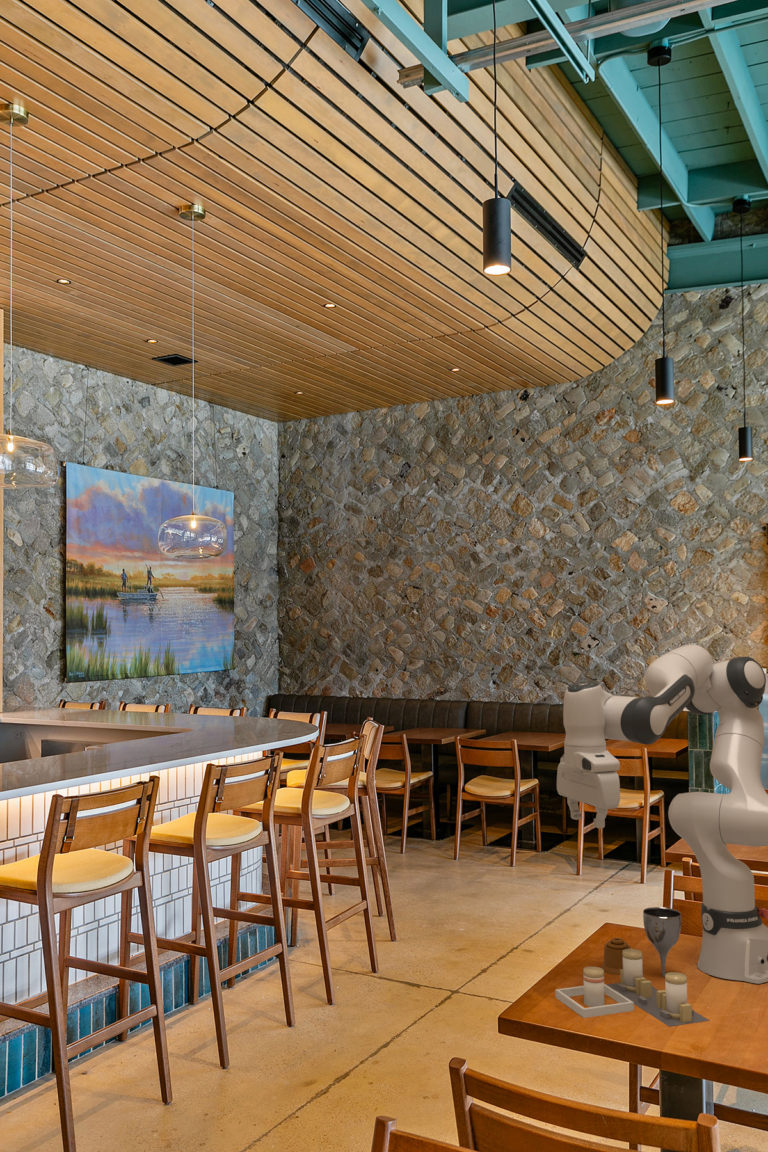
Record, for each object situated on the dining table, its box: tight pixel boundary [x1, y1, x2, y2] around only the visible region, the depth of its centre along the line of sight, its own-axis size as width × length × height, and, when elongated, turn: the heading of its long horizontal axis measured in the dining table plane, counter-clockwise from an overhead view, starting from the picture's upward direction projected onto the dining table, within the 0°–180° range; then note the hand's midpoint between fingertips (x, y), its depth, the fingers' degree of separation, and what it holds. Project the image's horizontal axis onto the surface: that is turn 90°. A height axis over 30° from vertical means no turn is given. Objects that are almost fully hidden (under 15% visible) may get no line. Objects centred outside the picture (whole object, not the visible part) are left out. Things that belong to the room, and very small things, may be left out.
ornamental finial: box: [600, 937, 632, 976], centre depth 207 cm, size 8×8×8 cm
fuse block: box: [605, 969, 711, 1028], centre depth 188 cm, size 9×23×4 cm, turn 18°
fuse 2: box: [664, 971, 688, 1020], centre depth 181 cm, size 4×4×8 cm
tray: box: [554, 983, 635, 1019], centre depth 187 cm, size 11×11×3 cm
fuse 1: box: [623, 948, 644, 992], centre depth 195 cm, size 4×4×8 cm
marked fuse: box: [582, 966, 606, 1008], centre depth 187 cm, size 4×4×8 cm
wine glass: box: [642, 906, 682, 978], centre depth 203 cm, size 8×8×15 cm
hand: (587, 823), depth 200 cm, fingers open, 8 cm apart
